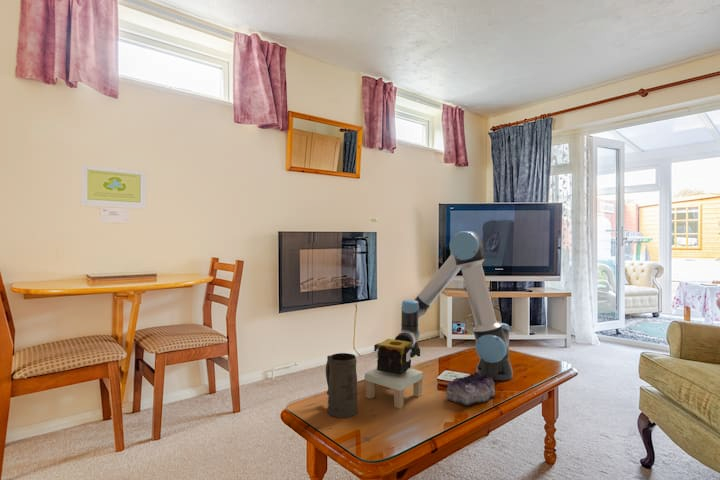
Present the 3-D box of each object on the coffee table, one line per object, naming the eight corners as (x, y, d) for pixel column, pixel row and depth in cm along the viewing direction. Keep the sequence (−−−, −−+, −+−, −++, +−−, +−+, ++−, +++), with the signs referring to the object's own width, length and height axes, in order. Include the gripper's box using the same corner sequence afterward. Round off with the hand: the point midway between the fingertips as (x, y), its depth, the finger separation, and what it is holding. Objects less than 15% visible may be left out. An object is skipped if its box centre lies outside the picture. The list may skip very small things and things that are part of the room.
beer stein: (365, 411, 138) (362, 354, 138) (344, 421, 130) (341, 361, 130) (334, 401, 148) (332, 349, 148) (313, 410, 140) (311, 355, 140)
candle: (376, 370, 148) (376, 344, 148) (387, 363, 157) (387, 338, 157) (401, 375, 144) (402, 348, 143) (411, 367, 153) (411, 341, 152)
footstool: (422, 395, 152) (423, 371, 152) (400, 409, 139) (400, 384, 139) (388, 384, 162) (388, 363, 162) (364, 397, 150) (364, 373, 149)
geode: (478, 388, 160) (482, 364, 158) (501, 403, 150) (505, 377, 148) (439, 396, 150) (443, 371, 149) (461, 412, 140) (464, 385, 139)
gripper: (432, 352, 164) (423, 370, 143) (378, 347, 171) (361, 362, 151) (432, 334, 164) (423, 349, 143) (378, 329, 171) (361, 343, 150)
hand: (391, 356), depth 147 cm, fingers closed on candle, 11 cm apart
